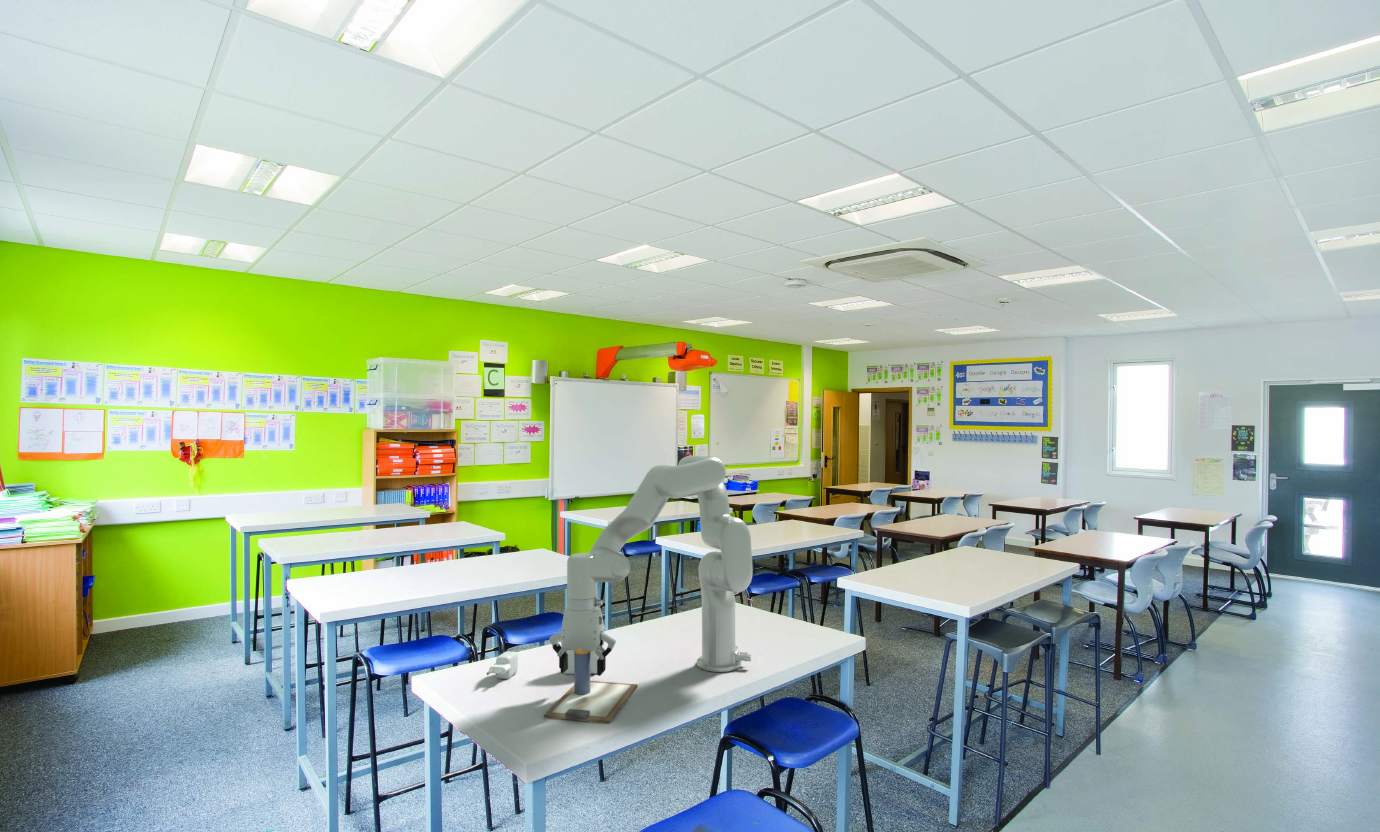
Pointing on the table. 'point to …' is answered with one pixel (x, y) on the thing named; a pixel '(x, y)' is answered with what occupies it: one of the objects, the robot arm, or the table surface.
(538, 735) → the table surface
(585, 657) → the cylinder
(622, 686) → the clipboard
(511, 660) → the power adapter
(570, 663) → the photo printer
